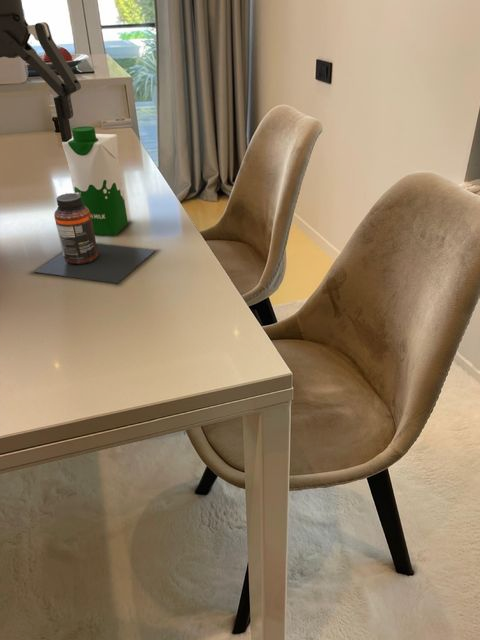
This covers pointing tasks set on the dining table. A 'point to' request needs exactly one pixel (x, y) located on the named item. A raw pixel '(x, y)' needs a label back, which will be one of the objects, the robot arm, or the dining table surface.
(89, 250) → the supplement bottle
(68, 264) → the mat
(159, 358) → the dining table surface
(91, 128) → the milk carton
